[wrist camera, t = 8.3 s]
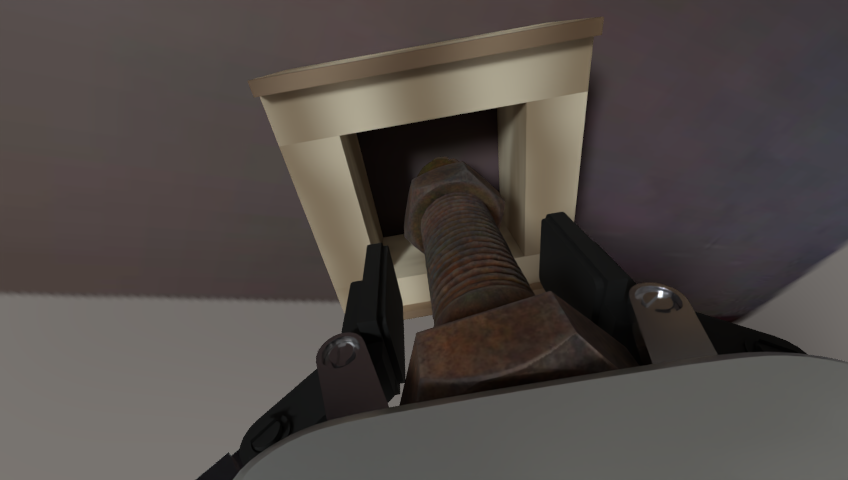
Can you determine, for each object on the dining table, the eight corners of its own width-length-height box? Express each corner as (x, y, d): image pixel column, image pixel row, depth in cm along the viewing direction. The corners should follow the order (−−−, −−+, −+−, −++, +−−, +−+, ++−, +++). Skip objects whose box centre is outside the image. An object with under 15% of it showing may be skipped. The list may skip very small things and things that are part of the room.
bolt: (504, 177, 20) (703, 429, 7) (448, 234, 22) (526, 516, 9) (431, 113, 18) (532, 312, 5) (376, 183, 19) (341, 462, 7)
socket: (545, 23, 17) (603, 16, 13) (537, 242, 25) (571, 290, 20) (286, 69, 17) (247, 80, 13) (355, 274, 25) (346, 329, 20)
